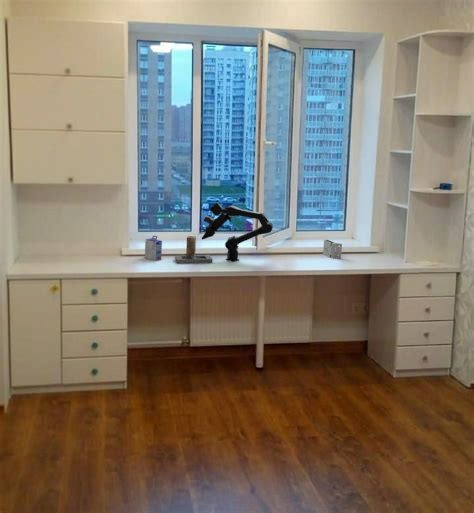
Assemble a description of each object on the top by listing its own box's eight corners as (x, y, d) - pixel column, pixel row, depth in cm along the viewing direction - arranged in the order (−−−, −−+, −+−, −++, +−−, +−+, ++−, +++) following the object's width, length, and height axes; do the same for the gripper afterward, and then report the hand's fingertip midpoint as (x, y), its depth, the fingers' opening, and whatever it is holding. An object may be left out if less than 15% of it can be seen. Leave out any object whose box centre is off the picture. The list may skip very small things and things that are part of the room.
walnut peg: (195, 256, 415) (195, 236, 411) (193, 258, 410) (194, 238, 406) (187, 255, 415) (188, 235, 412) (186, 257, 410) (186, 237, 407)
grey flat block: (209, 259, 409) (209, 255, 409) (212, 263, 401) (212, 259, 400) (175, 259, 404) (175, 255, 403) (177, 263, 395) (177, 259, 395)
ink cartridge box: (162, 259, 403) (162, 237, 399) (155, 261, 398) (156, 238, 394) (150, 256, 408) (151, 234, 404) (144, 258, 404) (144, 235, 400)
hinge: (341, 258, 428) (342, 243, 425) (335, 259, 425) (337, 244, 422) (325, 253, 438) (326, 239, 435) (320, 254, 435) (321, 240, 432)
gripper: (213, 209, 412) (196, 225, 416) (209, 214, 394) (191, 231, 398) (225, 221, 413) (208, 237, 417) (221, 227, 396) (204, 244, 400)
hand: (203, 237), depth 408 cm, fingers open, 9 cm apart
